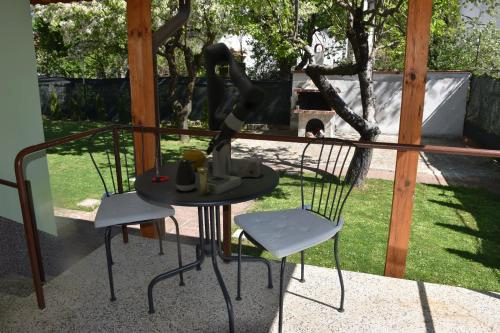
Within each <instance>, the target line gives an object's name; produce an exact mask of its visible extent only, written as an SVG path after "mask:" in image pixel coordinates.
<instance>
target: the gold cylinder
mask: <svg viewBox="0 0 500 333" xmlns="http://www.w3.org/2000/svg"><path fill="white" fill-rule="evenodd" d="M208 169H209V168H208V167H204V166H202V167H201V168H197V171H196V172H197V173H198V174H199V176H198V177H199V182H200V191H199V194H200V195H201V196H205V195H208V192H207V179H208V178H207V173H208V171H209V170H208Z"/></svg>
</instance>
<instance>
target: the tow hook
mask: <svg viewBox="0 0 500 333" xmlns="http://www.w3.org/2000/svg"><path fill="white" fill-rule="evenodd" d="M155 159H156V161H155V166H156V169H155V170H156V172H155V173H156V176H155V177H153V178H151V182H157V183H164V182H165V181H168V180H170V177H169V176H164V175H163V176H162V175H160V169H159V168H160V166H159V164H160V163H159V157H158V156H157V157H155Z"/></svg>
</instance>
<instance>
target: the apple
mask: <svg viewBox="0 0 500 333" xmlns="http://www.w3.org/2000/svg"><path fill="white" fill-rule="evenodd" d="M182 157H183V158H182V159H187V160H189V161H190V162H191V161H193V160H196V162H194V163H193V164H192V166H193V168H194V171H195V172H197V168H201V167H204V166H203V165H204V164H205V162H206V158H207V157H206V154H205V153H204V152H203V151H202V150H199V149H190V150H187V151H185V152H184V154H183V156H182Z"/></svg>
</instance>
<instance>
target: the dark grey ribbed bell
mask: <svg viewBox="0 0 500 333" xmlns="http://www.w3.org/2000/svg"><path fill="white" fill-rule="evenodd" d="M194 162H196V160H193V161H191V162H190V161H189V160H187V159H183V158H182V159H180V160H179V162H178V164H177V167H176V171H175V175H174V184H175V186H176V188H177V189H178V190H179V191H181V192H190V191H192V190H194V189H195V187H196V184H197V175H196V171H194V168H193V166H192V164H193V163H194Z"/></svg>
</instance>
